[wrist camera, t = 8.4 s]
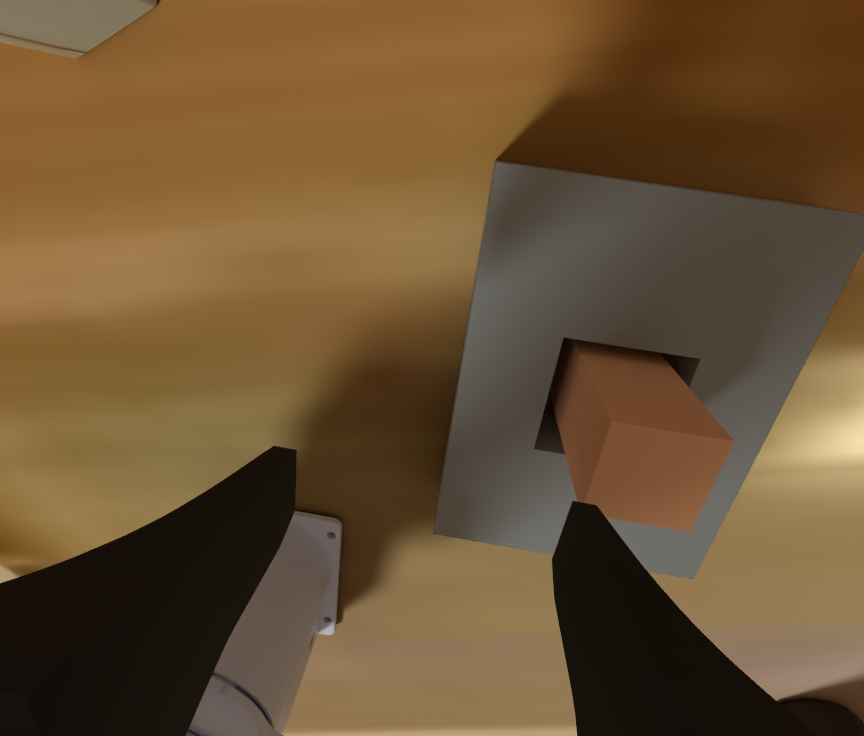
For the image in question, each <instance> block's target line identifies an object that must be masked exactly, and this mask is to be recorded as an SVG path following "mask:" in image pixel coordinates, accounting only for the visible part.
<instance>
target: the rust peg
mask: <svg viewBox="0 0 864 736" xmlns="http://www.w3.org/2000/svg"><path fill="white" fill-rule="evenodd" d="M550 397H551V401H552V404H553V408H554V412H555V416H556V420H557V424H558V428H559V432H560V436H561V439H562V443H563V447H564V451H565V455H566V459H567V463H568V467H569V471H570V474H571V478H572V482H573V486H574V490H575V494H576V498H577V502H582V503H588V504H593V505H597V507H598V508H599V509H600V510H601V512H602V513H603V514H604V516H605V517H606V518H609V519H615V520H621V521H627V522H633V523H639V524H645V525H651V526H657V527H662V528H668V529H674V530H680V531H686V532H691V530H692V528H693V526H694V524H695V522H696V520H697V518H698V516H699V514H700V512H701V510H702V507H703V505H704V503H705V501H706V499H707V497H708V495H709V493H710V491H711V489H712V487H713V484H714V482H715V480H716V478H717V476H718V474H719V472H720V470H721V468H722V466H723V464H724V462H725V459H726V457H727V455H728V453H729V451H730V449H731V447H732V445H733V443H734V440H733V439H732V438H731V437H730V435H729V434H728V433H727V432H726V431H725V429H724V428H723V427H722V426H721V425H720V424H719V422H718V421H717V420H716V419H715V418H714V416H713V415H712V414H711V413H710V412H709V411H708V409H707V408H706V407H705V406H704V405H703V403H702V402H701V401H700V400H699V399H698V398H697V396H696V395H695V394H694V393H693V392H692V390H691V389H690V388H689V387H688V386H687V385H686V383H685V382H684V381H683V380H682V379H681V377H680V376H679V375H678V374H677V373H676V372H675V370H674V369H673V368H672V367H671V366H670V364H669V363H668V362H667V361H666V360H665V359H664V357H663V356H662V355H661V354H660V353H659V352H653V351H647V350H640V349H634V348H627V347H621V346H615V345H608V344H602V343H596V342H589V341H583V340H576V339H570V338H564V342H563V345H562V349H561V353H560V357H559V361H558V364H557V368H556V372H555V376H554V380H553V383H552V387H551V391H550Z"/></svg>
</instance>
